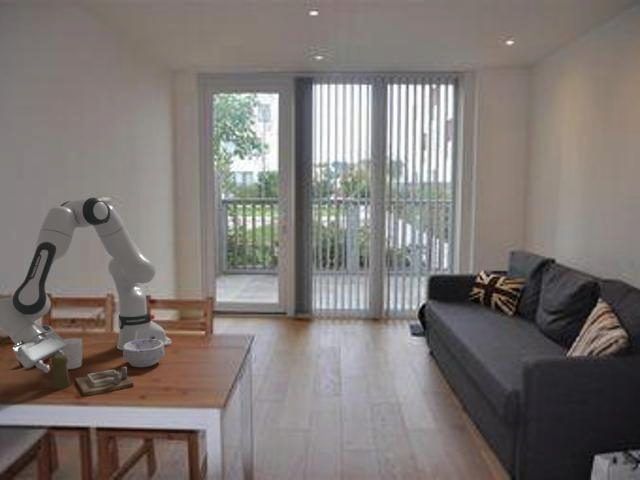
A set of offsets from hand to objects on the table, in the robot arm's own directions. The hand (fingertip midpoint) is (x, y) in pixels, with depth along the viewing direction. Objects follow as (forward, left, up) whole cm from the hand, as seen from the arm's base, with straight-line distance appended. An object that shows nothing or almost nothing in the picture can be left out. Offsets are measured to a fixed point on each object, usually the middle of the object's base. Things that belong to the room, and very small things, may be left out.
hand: (57, 366), depth 193 cm
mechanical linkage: (+1, -33, -7) cm, 34 cm away
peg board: (-14, +7, -7) cm, 17 cm away
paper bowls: (-32, -7, -7) cm, 33 cm away
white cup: (-8, -19, -7) cm, 22 cm away
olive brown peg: (-1, +1, -7) cm, 7 cm away
